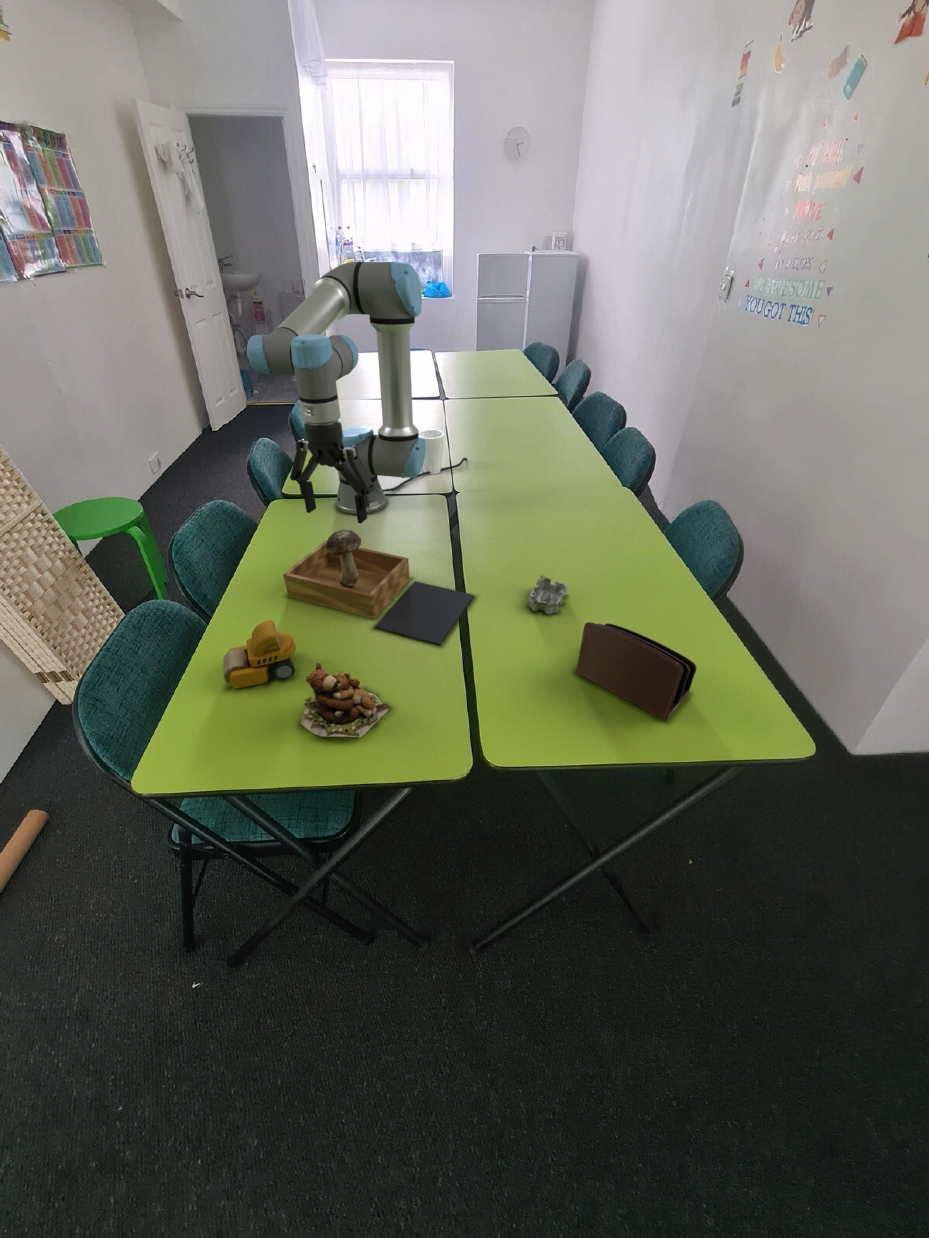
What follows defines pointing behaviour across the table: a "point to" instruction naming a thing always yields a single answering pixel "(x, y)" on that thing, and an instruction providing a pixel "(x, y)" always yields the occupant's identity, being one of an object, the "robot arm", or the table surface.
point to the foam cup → (433, 450)
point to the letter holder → (635, 668)
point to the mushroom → (345, 554)
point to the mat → (425, 613)
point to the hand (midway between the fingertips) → (336, 515)
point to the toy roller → (260, 657)
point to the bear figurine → (340, 706)
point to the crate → (367, 596)
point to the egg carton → (547, 595)
